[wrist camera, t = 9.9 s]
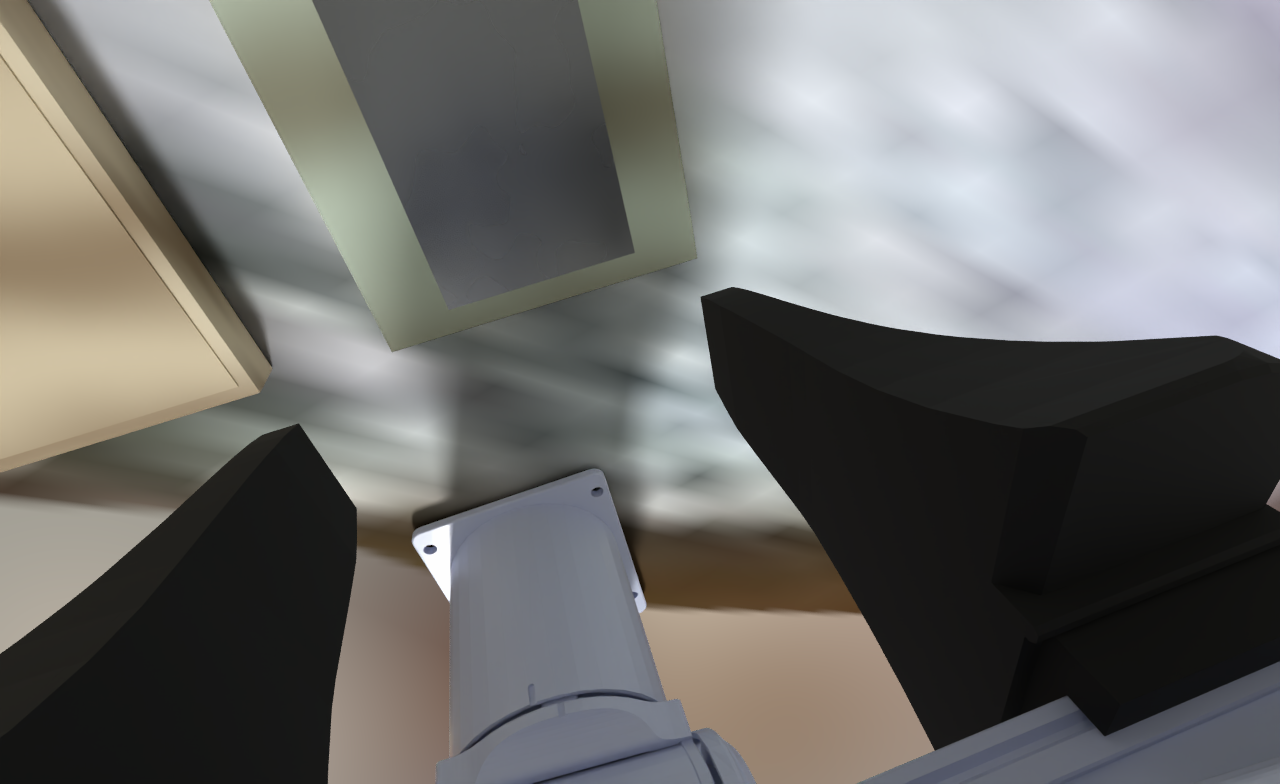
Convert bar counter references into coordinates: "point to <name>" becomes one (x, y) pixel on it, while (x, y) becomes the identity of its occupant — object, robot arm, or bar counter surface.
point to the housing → (486, 135)
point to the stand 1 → (94, 274)
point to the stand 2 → (367, 200)
